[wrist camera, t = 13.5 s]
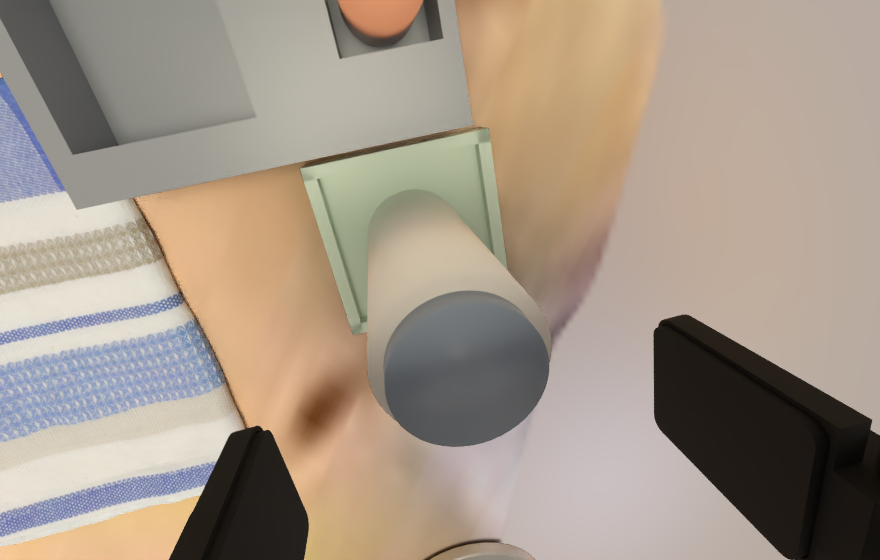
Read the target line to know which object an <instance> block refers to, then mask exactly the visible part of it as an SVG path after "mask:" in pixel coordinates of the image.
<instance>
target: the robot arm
mask: <svg viewBox="0 0 880 560" xmlns="http://www.w3.org/2000/svg"><path fill="white" fill-rule="evenodd" d="M654 416H655V421H656V423H657V425H658V427H659V429H660V430H661V431H662V432H663V433H664V434H665V435H666V436H667V437H668V438H669V440H670V441H672V443H674V445H675V446H676V447H677V448H678V449H679V450H680V451H681V452H682V453H683V454H684V455H685V456H686V457H687V458H688V459H689V460H690V461H691V462H692V463H693V464H694V465H695V466H696V467H697V468H698V469H699V470H700V471H701V472H702V473H703V474H704V475H705V476H706V477H707V478H708V480H709V481H711V482H712V484H713V485H714V486H715V487H716V488H717V489H718V490H719V491H720V492H721V493H722V494H723V495H724V496H725V497H726V498H727V499H728V500H729V501H730V502H731V503H732V504H733V505H734V506H735V507H736V508H737V509H738V510H739V511H740V512H741V513H742V514H743V515H744V516H745V518H747V520H748V521H750V523H751V524H752V525H753V526H754V527H755V528H756V529H757V530H758V531H759V532H760V533H761V534H762V535H763V536H764V537H765V538H766V539H767V540H768V541H769V542H770V543H771V544H772V545H773V546H774V547H775V548H776V549H777V550H778V551H779V552H780V553H781V554H782V555H783V556H784V557H786V558H788V559H791V560H880V435H878V434H876V433H875V432H873V431H871V430H870V428H871V423H872V420H871V419H870V418H868V417H866V416H864V415H863V414H861V413H859V412H857V411H856V410H854V409H852V408H850V407H849V406H847V405H845V404H843V403H842V402H840V401H838V400H836V399H835V398H833V397H831V396H829V395H828V394H826V393H824V392H822V391H821V390H819V389H817V388H815V387H814V386H812V385H810V384H808V383H807V382H805V381H803V380H801V379H800V378H798V377H796V376H794V375H793V374H791V373H789V372H787V371H786V370H784V369H782V368H780V367H779V366H777V365H775V364H773V363H772V362H770V361H768V360H766V359H765V358H763V357H761V356H759V355H758V354H756V353H754V352H752V351H750V350H749V349H747V348H745V347H744V346H742V345H740V344H738V343H737V342H735V341H733V340H731V339H730V338H728V337H726V336H724V335H723V334H721V333H719V332H717V331H716V330H714V329H712V328H710V327H709V326H707V325H705V324H703V323H702V322H700V321H698V320H696V319H695V318H693V317H691V316H689V315H680V316H676V317H672V318H668V319H664V320H662V321H661V322H660V323H659V326H658V328H656V329H655V330H654ZM308 530H309V523H308V516H307V513H306V510H305V508H304V506H303V503H302V501H301V499H300V497H299V494H298V492H297V490H296V487H295V485H294V483H293V480H292V478H291V476H290V474H289V471H288V469H287V467H286V464H285V462H284V460H283V458H282V455H281V453H280V451H279V448H278V446H277V444H276V441H275V439H274V437H273V435H272V433H271V432H270V431H269V430H265V431H263V429H262V428H261V427H260V426H255V427H251V428H247V429H243V430H240V431H236V432H233V433H231V434H230V436H229V437H228V439H227V441H226V443H225V445H224V447H223V450H222V452H221V454H220V456H219V458H218V460H217V462H216V464H215V466H214V469H213V471H212V473H211V475H210V477H209V479H208V481H207V483H206V485H205V487H204V490H203V492H202V494H201V496H200V498H199V500H198V502H197V504H196V506H195V508H194V510H193V512H192V513H191V515H190V517H189V519H188V521H187V523H186V525H185V527H184V529H183V531H182V533H181V536H180V538H179V540H178V542H177V544H176V546H175V548H174V550H173V552H172V554H171V556H170V558H169V560H304V556H305V549H306V543H307V537H308ZM430 560H535V559H534V558H533V557H532V556H531V555H530V554H529V553H527V552H526V551H524V550H522V549H520V548H517V547H515V546H512V545H509V544H503V543H494V542H482V543H474V544H468V545H464V546H460V547H456V548H453V549H451V550H448V551H446V552H443V553H440V554H439V555H437V556H435V557H433V558H431V559H430Z"/></svg>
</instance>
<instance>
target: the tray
mask: <svg viewBox="0 0 880 560" xmlns="http://www.w3.org/2000/svg"><path fill="white" fill-rule="evenodd" d="M300 172H301V175H302V178H303V181H304V184H305V187H306V190H307V193H308V196H309V200H310V203H311V206H312V209H313V212H314V215H315V218H316V221H317V225H318V228H319V231H320V234H321V237H322V240H323V243H324V246H325V250H326V253H327V256H328V259H329V262H330V265H331V268H332V271H333V275H334V278H335V281H336V284H337V287H338V290H339V293H340V296H341V300H342V303H343V306H344V309H345V312H346V315H347V318H348V321H349V325H350V328H351V331H352V334H353V335H357V334H361V333H365V332H367V299H368V228H369V224H370V220H371V218H372V216H373V214H374V212H375V210H376V209H377V207H378V206H379V205H380V204H381V203H382V202H383V201H384V200H385V199H387V198H388V197H390V196H391V195H393V194H395V193H398V192H401V191H404V190H410V189H419V190H425V191H429V192H431V193H434V194H436V195H438V196H439V197H441V198H442V199H444V200H445V201H446V202H447V203H448V204H449V205H450V206H451V208H452V209H453V210H454V211H455V212H456V213H457V214H458V215H459V217H460V218H461V219H462V220H463V221H464V222H465V223H466V224H467V226H468V227H469V228H470V229H471V230H472V231H473V232H474V234H475V235H476V236H477V237H478V238H479V239H480V240H481V241H482V243H483V244H484V245H485V246H486V247H487V248H488V249H489V250H490V252H491V253H492V254H493V255H494V256H495V257H496V258H497V259H498V261H499V262H500V263H501V264H502V265H503V266H504V267H505V268H506V270H507V271H508V268H507V261H506V253H505V246H504V238H503V231H502V223H501V216H500V208H499V201H498V193H497V186H496V178H495V171H494V163H493V156H492V148H491V141H490V133H489V128H482V127H479V128H474V129H469V130H465V131H460V132H455V133H451V134H446V135H441V136H437V137H432V138H427V139H423V140H418V141H413V142H409V143H404V144H399V145H395V146H390V147H385V148H381V149H376V150H371V151H367V152H362V153H357V154H353V155H348V156H343V157H339V158H334V159H329V160H325V161H320V162H315V163H311V164H306V165H304V166H303V167H301V168H300Z"/></svg>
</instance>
